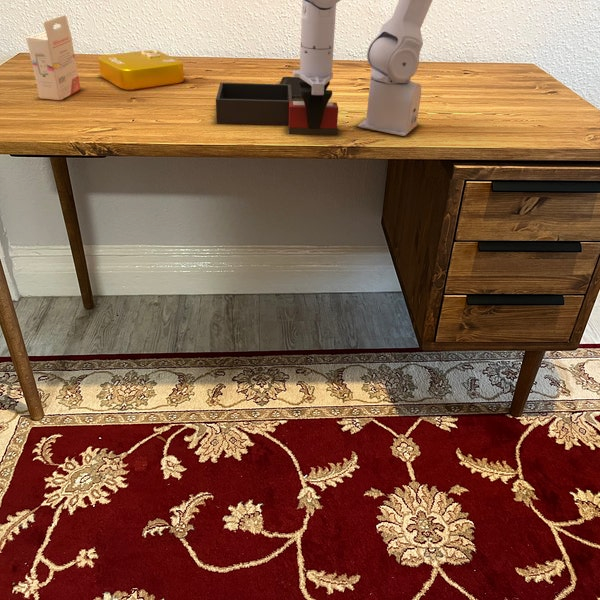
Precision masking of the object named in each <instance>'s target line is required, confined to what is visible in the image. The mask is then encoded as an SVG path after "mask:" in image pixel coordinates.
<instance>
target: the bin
mask: <svg viewBox="0 0 600 600" xmlns="http://www.w3.org/2000/svg"><path fill="white" fill-rule="evenodd" d="M218 86H219V87H218V90H217V93H216V98H215V112H216V113H215V115H216V124H221V125H222V124H223V125H225V124H226V125H227V124H228V125H263V126H264V125H266V126H267V125H268V126H289V101H292V93H291V85H289V84H280V83H253V82H252V83H248V82H220V83H219V85H218Z"/></svg>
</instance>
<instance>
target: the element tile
mask: <svg viewBox="0 0 600 600" xmlns="http://www.w3.org/2000/svg"><path fill="white" fill-rule="evenodd" d="M98 67H99V72H100V73H99V74H100V77H101V78H102V79H105V80H106V81H108V82H110V83H111V84H113V85H115V86H116V87H118V88H120V89H121V90H124V91H125V90H126V91H135V90H141V89H148V88H155V87H161V86H163V87H164V86H169V85H176V84H181V83H183V82H184V81H185V77H184V75H185V74H184V63H183V61H182V60H180V59H177V58H175V57H173V56H170V55H168V54H165V53H163V52H162V51H159V50H156V49H145V50H140V51H130V52H121V53H111V54H103V55H99V56H98Z"/></svg>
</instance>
